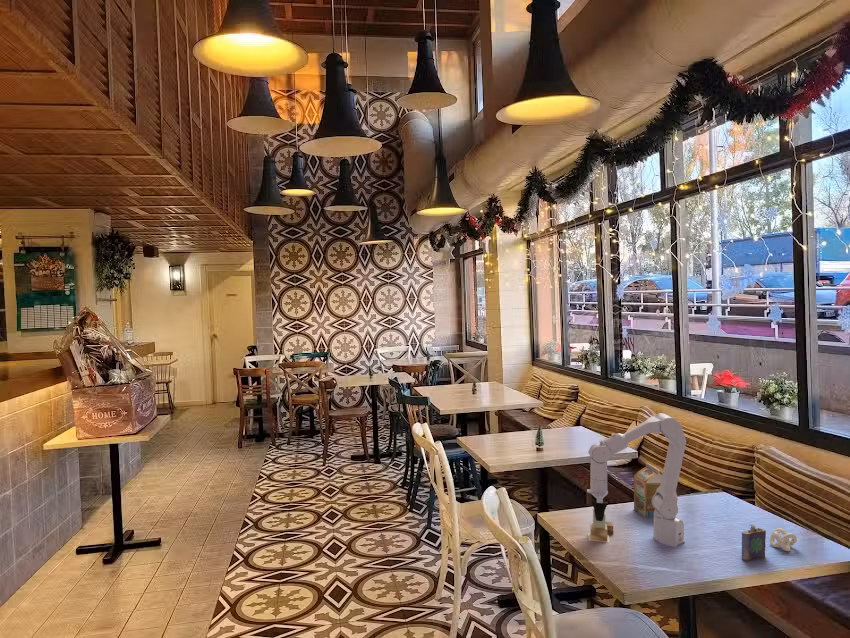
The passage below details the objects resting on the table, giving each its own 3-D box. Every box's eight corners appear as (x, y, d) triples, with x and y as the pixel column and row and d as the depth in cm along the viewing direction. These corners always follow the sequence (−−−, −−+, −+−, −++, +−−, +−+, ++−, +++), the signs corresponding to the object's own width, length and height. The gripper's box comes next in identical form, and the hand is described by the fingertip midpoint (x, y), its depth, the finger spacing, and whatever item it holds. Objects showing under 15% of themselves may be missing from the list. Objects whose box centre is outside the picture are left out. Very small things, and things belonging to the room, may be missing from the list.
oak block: (606, 535, 211) (606, 524, 211) (607, 541, 206) (607, 529, 206) (590, 533, 212) (590, 522, 212) (590, 539, 207) (590, 528, 207)
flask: (746, 561, 190) (746, 528, 190) (738, 558, 193) (738, 525, 193) (767, 557, 193) (767, 525, 193) (759, 554, 196) (760, 522, 196)
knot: (762, 545, 203) (762, 528, 203) (779, 541, 206) (779, 525, 206) (782, 553, 196) (782, 536, 196) (799, 550, 199) (799, 532, 199)
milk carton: (634, 509, 239) (634, 463, 238) (659, 509, 240) (659, 462, 239) (645, 519, 228) (645, 470, 228) (672, 518, 229) (672, 469, 229)
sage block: (604, 524, 210) (604, 510, 210) (605, 528, 206) (605, 514, 206) (593, 523, 211) (593, 509, 211) (593, 527, 207) (593, 513, 207)
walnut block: (612, 530, 216) (612, 522, 216) (613, 534, 212) (613, 526, 212) (601, 529, 217) (601, 521, 217) (601, 533, 213) (601, 525, 213)
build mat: (637, 540, 208) (637, 538, 208) (615, 551, 199) (615, 549, 199) (601, 528, 219) (601, 526, 219) (578, 538, 209) (578, 536, 209)
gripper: (586, 472, 216) (586, 509, 217) (587, 483, 202) (587, 523, 203) (606, 473, 215) (606, 510, 215) (609, 485, 201) (609, 524, 201)
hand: (598, 516), depth 209 cm, fingers open, 7 cm apart
